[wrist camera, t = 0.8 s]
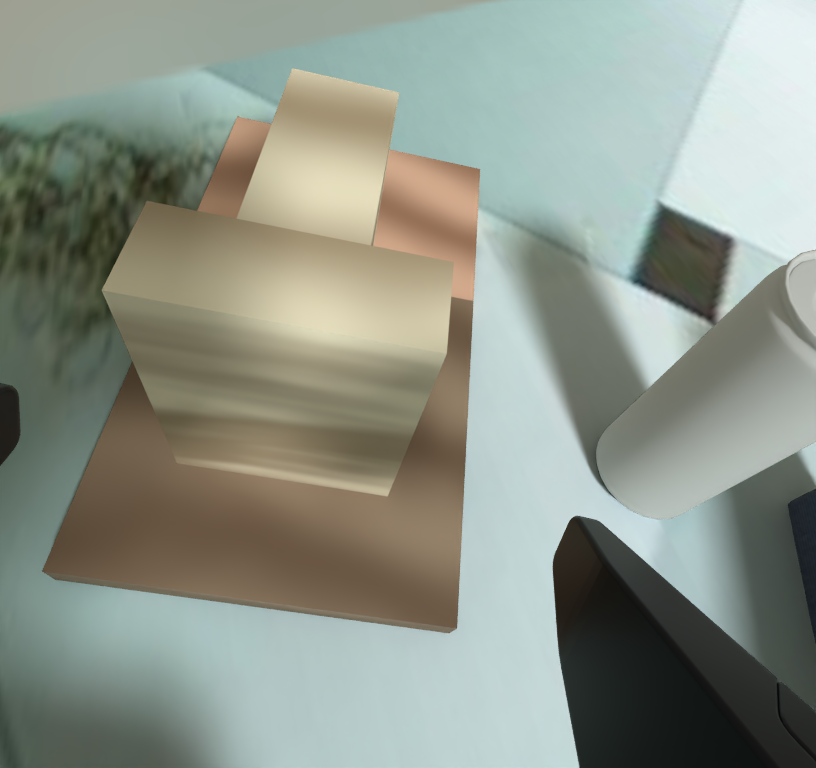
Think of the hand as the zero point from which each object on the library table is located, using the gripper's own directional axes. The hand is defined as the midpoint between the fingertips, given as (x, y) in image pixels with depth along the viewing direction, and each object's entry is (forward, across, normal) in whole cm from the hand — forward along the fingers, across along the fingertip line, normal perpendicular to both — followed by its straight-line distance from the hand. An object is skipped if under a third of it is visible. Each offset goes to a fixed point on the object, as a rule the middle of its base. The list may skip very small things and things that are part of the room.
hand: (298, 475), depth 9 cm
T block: (+15, +2, +5) cm, 16 cm away
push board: (+18, +2, +4) cm, 18 cm away
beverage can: (+15, -14, +6) cm, 21 cm away
